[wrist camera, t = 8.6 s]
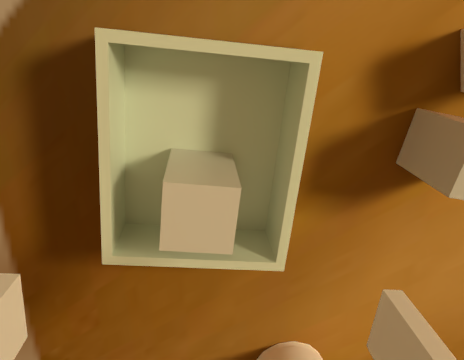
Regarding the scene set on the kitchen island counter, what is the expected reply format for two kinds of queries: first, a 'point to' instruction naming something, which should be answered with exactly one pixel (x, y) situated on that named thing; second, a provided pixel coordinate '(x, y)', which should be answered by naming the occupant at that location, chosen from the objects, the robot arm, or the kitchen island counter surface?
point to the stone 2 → (436, 151)
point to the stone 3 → (462, 60)
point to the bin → (200, 138)
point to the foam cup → (290, 352)
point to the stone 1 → (199, 202)
